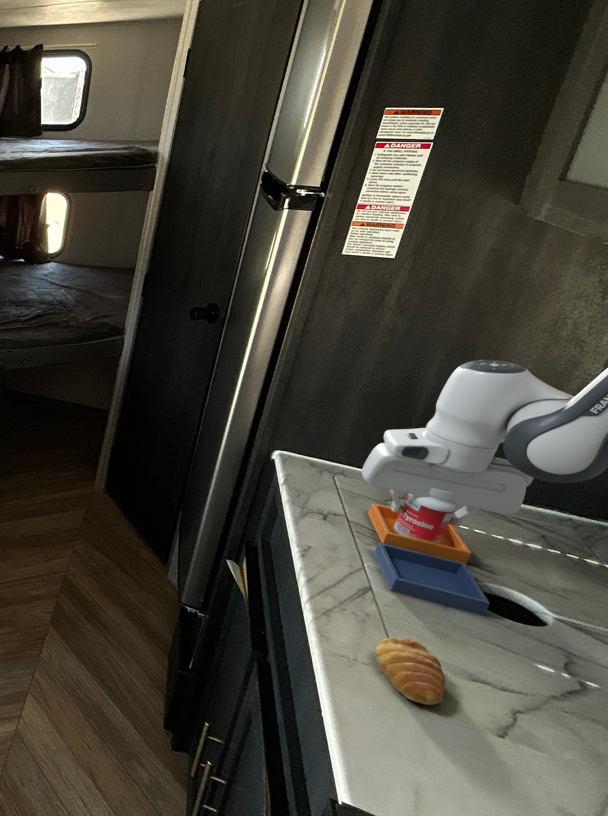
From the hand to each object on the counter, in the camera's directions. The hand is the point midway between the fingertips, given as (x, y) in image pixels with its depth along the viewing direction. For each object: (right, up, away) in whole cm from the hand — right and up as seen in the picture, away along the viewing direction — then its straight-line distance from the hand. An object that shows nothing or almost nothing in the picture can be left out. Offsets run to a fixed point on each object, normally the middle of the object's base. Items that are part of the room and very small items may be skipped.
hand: (423, 517), depth 112 cm
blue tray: (-8, -9, -9) cm, 15 cm away
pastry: (-27, -16, -26) cm, 40 cm away
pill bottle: (0, -4, +2) cm, 4 cm away
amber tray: (0, -4, +2) cm, 4 cm away
